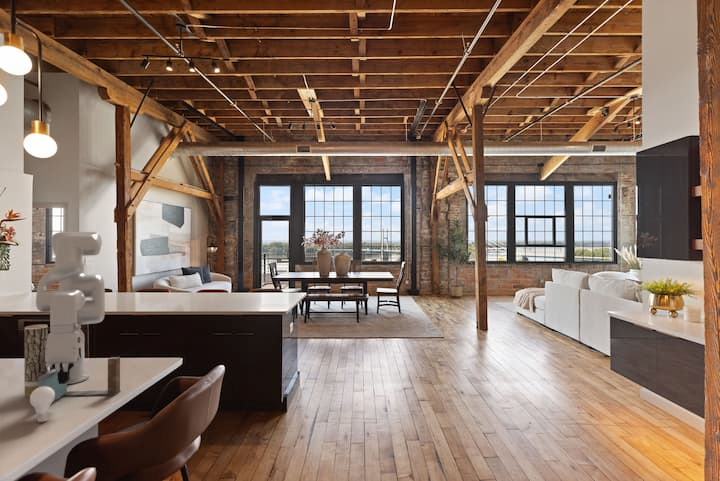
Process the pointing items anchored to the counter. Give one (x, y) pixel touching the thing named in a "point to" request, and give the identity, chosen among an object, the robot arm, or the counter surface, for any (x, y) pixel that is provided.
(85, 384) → the counter surface
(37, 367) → the wooden log
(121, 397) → the counter surface
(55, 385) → the gate
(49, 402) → the lightbulb
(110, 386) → the gate frame
